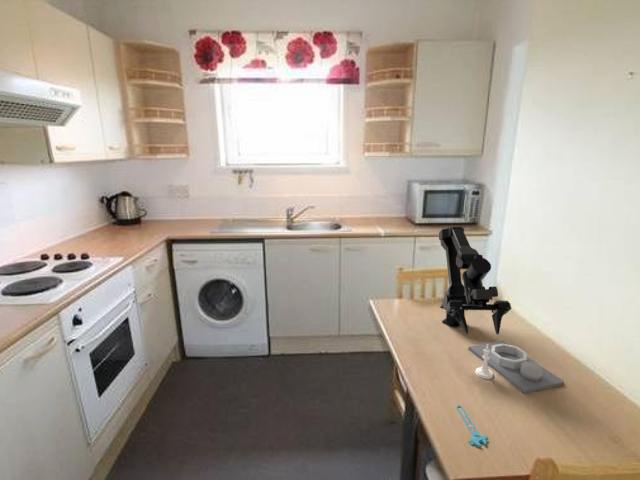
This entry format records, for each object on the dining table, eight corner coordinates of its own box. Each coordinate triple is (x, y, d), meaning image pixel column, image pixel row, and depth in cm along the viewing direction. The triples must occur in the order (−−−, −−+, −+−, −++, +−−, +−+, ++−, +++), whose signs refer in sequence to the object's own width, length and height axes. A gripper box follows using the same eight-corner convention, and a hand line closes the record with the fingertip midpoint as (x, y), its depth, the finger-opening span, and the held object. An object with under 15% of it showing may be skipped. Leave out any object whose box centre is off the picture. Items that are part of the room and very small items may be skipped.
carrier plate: (468, 349, 125) (469, 338, 124) (502, 343, 128) (503, 332, 127) (524, 393, 102) (526, 381, 101) (563, 384, 106) (566, 372, 105)
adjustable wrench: (493, 444, 84) (471, 445, 84) (493, 448, 84) (471, 449, 84) (467, 403, 98) (448, 404, 98) (467, 406, 98) (448, 407, 98)
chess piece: (474, 376, 110) (477, 346, 108) (476, 367, 114) (479, 338, 112) (492, 380, 108) (496, 350, 106) (493, 371, 112) (497, 342, 110)
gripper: (450, 276, 114) (458, 325, 106) (512, 276, 113) (525, 326, 105) (442, 290, 124) (449, 336, 116) (499, 291, 123) (509, 337, 115)
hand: (482, 333), depth 113 cm, fingers open, 9 cm apart
